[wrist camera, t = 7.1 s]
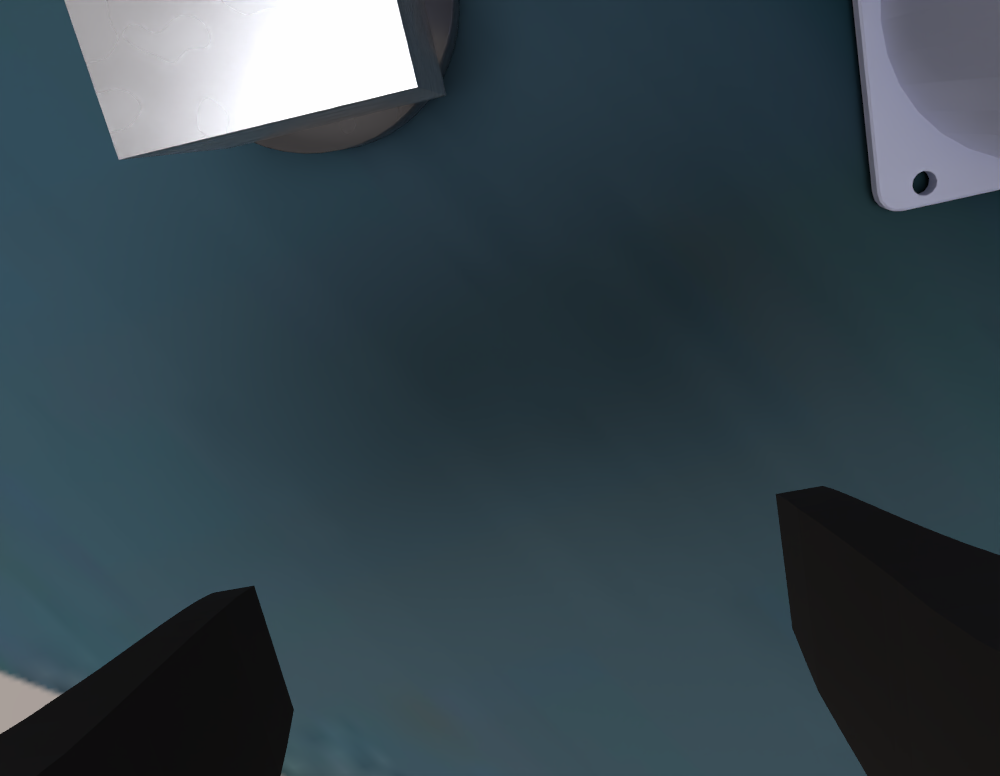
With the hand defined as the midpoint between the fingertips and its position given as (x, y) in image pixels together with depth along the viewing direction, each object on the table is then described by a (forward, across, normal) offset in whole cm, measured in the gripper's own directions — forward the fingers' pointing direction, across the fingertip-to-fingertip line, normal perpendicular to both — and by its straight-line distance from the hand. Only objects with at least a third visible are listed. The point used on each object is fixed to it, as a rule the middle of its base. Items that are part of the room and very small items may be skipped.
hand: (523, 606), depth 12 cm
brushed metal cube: (+8, +2, -9) cm, 12 cm away
